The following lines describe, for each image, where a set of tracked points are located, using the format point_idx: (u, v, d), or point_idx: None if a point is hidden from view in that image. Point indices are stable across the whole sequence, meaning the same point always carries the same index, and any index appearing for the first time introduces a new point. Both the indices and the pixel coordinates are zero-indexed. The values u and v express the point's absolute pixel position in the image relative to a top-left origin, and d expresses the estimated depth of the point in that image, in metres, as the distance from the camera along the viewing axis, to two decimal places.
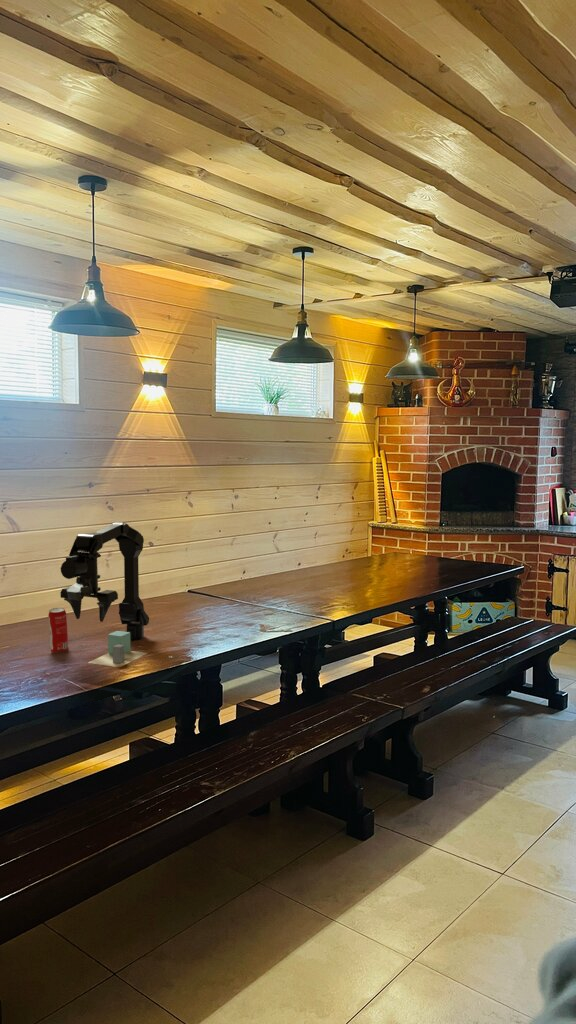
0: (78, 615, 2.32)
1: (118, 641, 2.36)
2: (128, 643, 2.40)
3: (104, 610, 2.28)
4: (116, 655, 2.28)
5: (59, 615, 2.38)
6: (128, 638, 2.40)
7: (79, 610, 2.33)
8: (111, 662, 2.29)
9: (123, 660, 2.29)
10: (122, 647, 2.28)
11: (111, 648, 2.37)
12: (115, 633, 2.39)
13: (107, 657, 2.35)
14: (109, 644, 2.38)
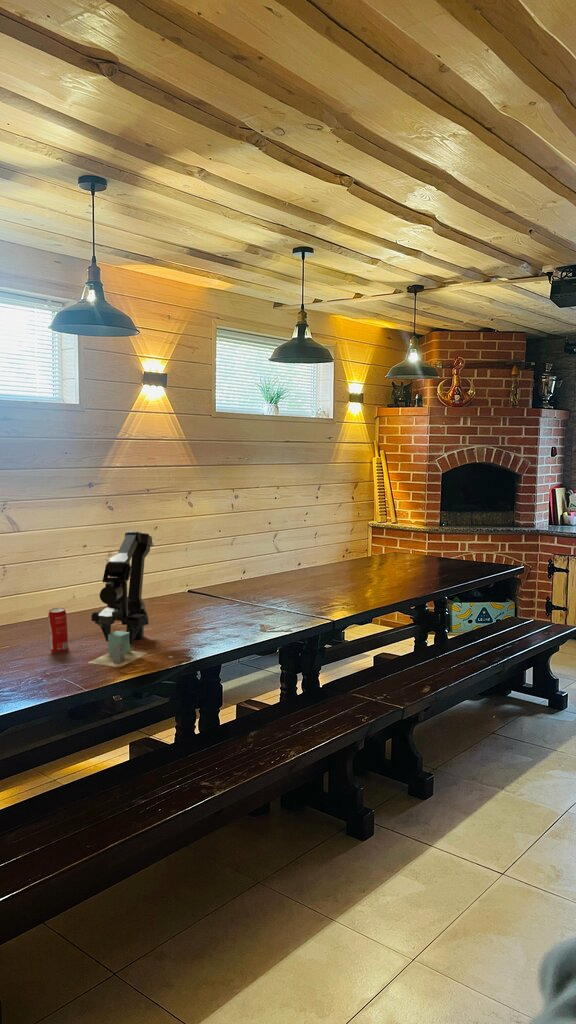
0: None
1: (118, 641, 2.36)
2: (128, 643, 2.40)
3: (134, 633, 2.37)
4: (116, 655, 2.28)
5: (59, 615, 2.38)
6: (128, 638, 2.40)
7: (109, 633, 2.41)
8: (111, 662, 2.29)
9: (123, 660, 2.29)
10: (122, 647, 2.28)
11: (111, 648, 2.37)
12: (115, 633, 2.39)
13: (107, 657, 2.35)
14: (109, 644, 2.38)
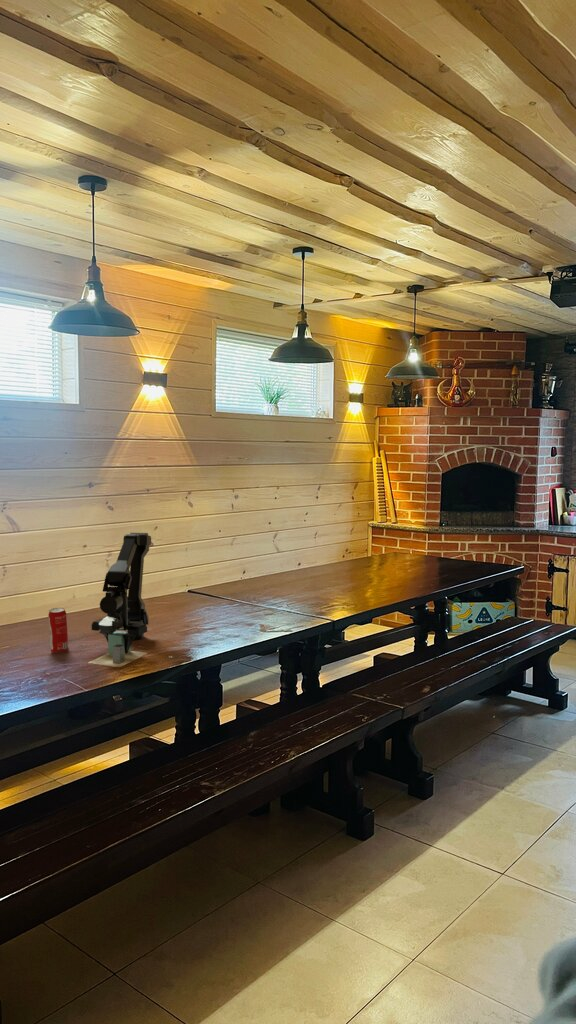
0: None
1: (118, 641, 2.36)
2: None
3: (129, 642, 2.38)
4: (116, 655, 2.28)
5: (59, 615, 2.38)
6: None
7: None
8: (111, 662, 2.29)
9: (123, 660, 2.29)
10: (122, 647, 2.28)
11: (111, 648, 2.37)
12: (115, 633, 2.39)
13: (107, 657, 2.35)
14: (109, 644, 2.38)
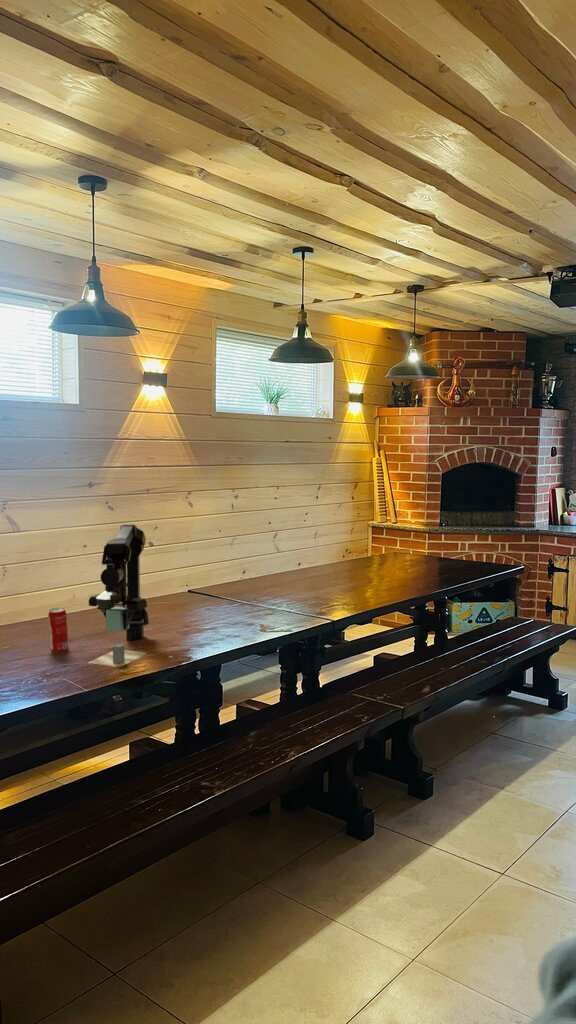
0: None
1: (116, 617, 2.25)
2: None
3: (128, 618, 2.27)
4: (116, 655, 2.28)
5: (59, 615, 2.38)
6: None
7: None
8: (111, 662, 2.29)
9: (123, 660, 2.29)
10: (122, 647, 2.28)
11: (109, 624, 2.26)
12: (113, 609, 2.28)
13: (107, 657, 2.35)
14: (107, 620, 2.27)
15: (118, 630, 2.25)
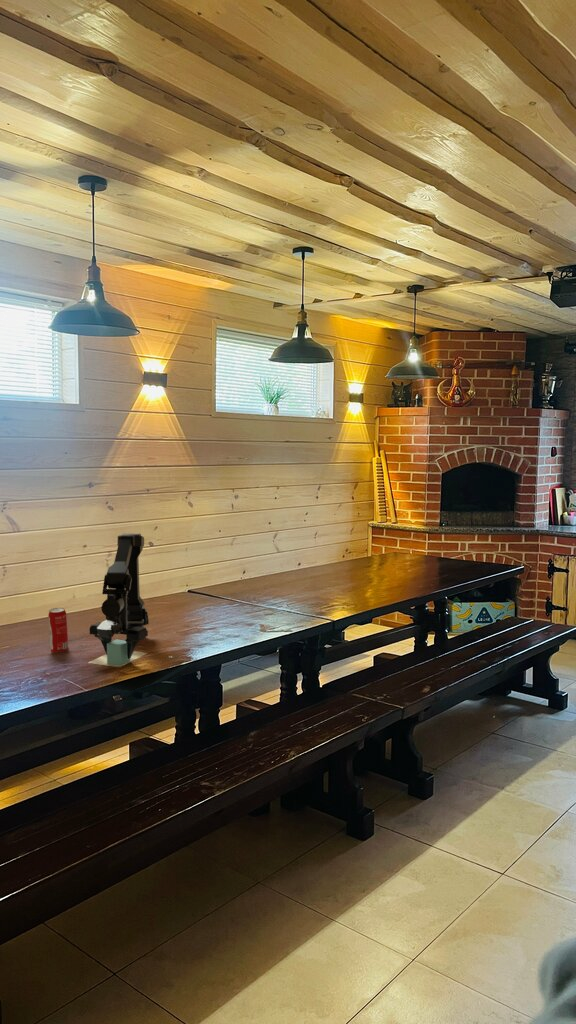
0: None
1: (117, 651, 2.26)
2: None
3: (132, 647, 2.27)
4: None
5: (59, 615, 2.38)
6: None
7: None
8: None
9: None
10: None
11: (110, 658, 2.27)
12: (114, 642, 2.28)
13: None
14: (108, 654, 2.27)
15: (119, 664, 2.26)
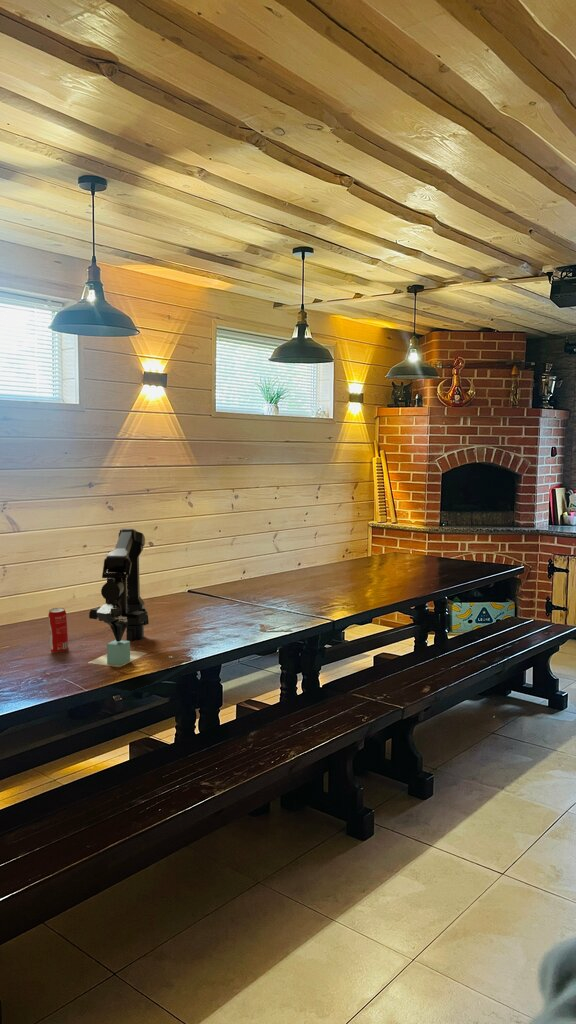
0: None
1: (117, 651, 2.26)
2: (128, 652, 2.29)
3: (122, 630, 2.28)
4: None
5: (59, 615, 2.38)
6: (128, 647, 2.29)
7: None
8: None
9: None
10: None
11: (110, 658, 2.27)
12: (114, 642, 2.28)
13: None
14: (108, 654, 2.27)
15: (119, 664, 2.26)
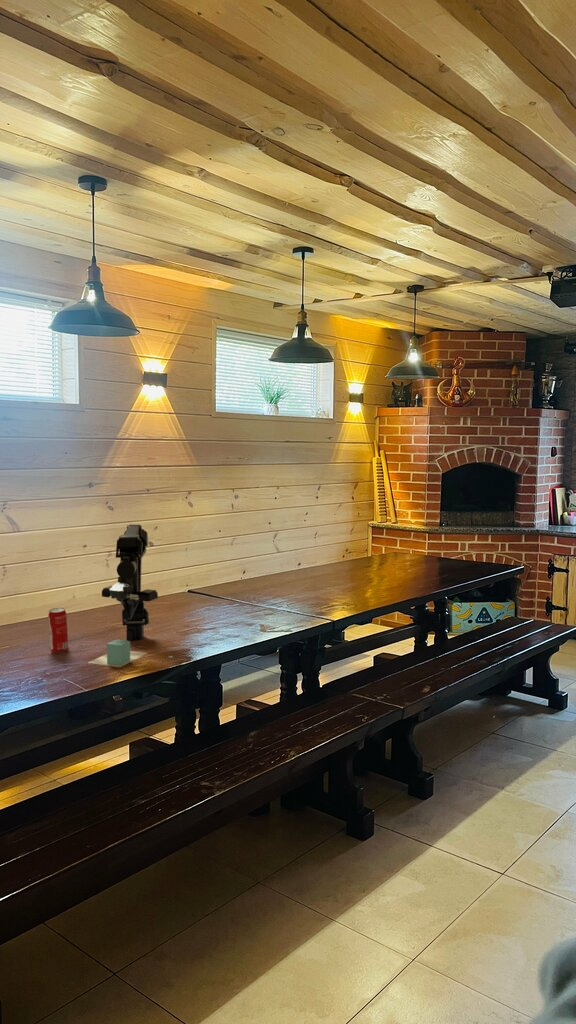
0: None
1: (117, 651, 2.26)
2: (128, 652, 2.29)
3: (133, 607, 2.38)
4: None
5: (59, 615, 2.38)
6: (128, 647, 2.29)
7: None
8: None
9: None
10: None
11: (110, 658, 2.27)
12: (114, 642, 2.28)
13: None
14: (108, 654, 2.27)
15: (119, 664, 2.26)
